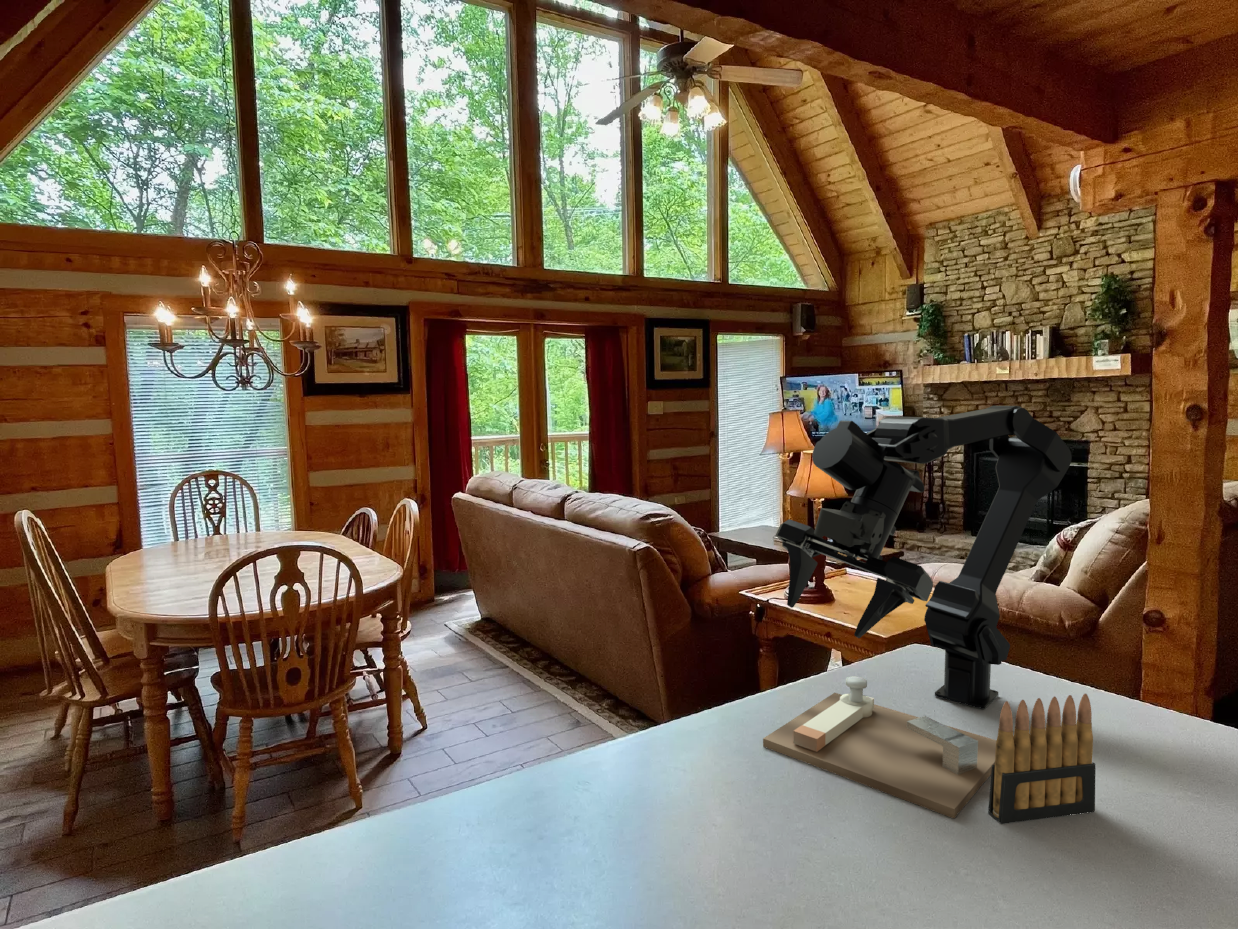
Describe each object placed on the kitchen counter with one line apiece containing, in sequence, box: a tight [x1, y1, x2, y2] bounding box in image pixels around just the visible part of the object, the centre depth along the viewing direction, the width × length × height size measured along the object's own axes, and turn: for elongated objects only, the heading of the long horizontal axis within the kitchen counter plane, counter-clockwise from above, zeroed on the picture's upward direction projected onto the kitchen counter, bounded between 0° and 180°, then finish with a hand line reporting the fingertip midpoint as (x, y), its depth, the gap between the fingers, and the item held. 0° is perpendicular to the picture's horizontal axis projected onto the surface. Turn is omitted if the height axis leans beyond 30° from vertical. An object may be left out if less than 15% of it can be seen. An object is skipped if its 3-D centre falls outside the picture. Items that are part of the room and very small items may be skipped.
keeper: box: [907, 715, 978, 775], centre depth 81 cm, size 3×7×3 cm, turn 26°
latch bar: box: [793, 676, 875, 752], centre depth 89 cm, size 15×4×4 cm, turn 136°
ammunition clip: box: [987, 693, 1097, 825], centre depth 72 cm, size 11×2×12 cm, turn 100°
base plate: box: [762, 692, 997, 820], centre depth 85 cm, size 18×22×1 cm
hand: (822, 621), depth 87 cm, fingers open, 9 cm apart
